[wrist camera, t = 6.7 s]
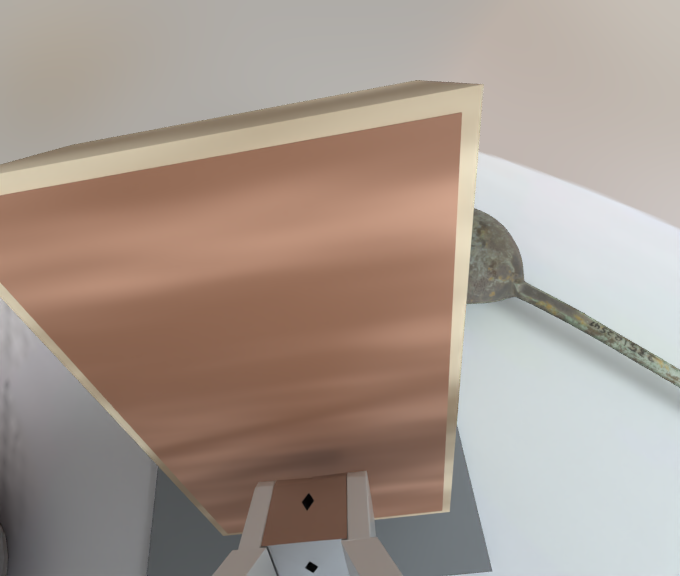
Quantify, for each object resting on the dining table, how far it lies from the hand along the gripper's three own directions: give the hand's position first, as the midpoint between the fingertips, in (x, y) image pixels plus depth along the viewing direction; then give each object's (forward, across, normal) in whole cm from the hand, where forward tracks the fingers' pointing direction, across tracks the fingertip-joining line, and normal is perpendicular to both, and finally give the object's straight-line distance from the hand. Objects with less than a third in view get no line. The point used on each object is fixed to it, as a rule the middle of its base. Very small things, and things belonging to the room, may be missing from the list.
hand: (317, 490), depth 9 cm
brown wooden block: (+4, 0, +4) cm, 6 cm away
